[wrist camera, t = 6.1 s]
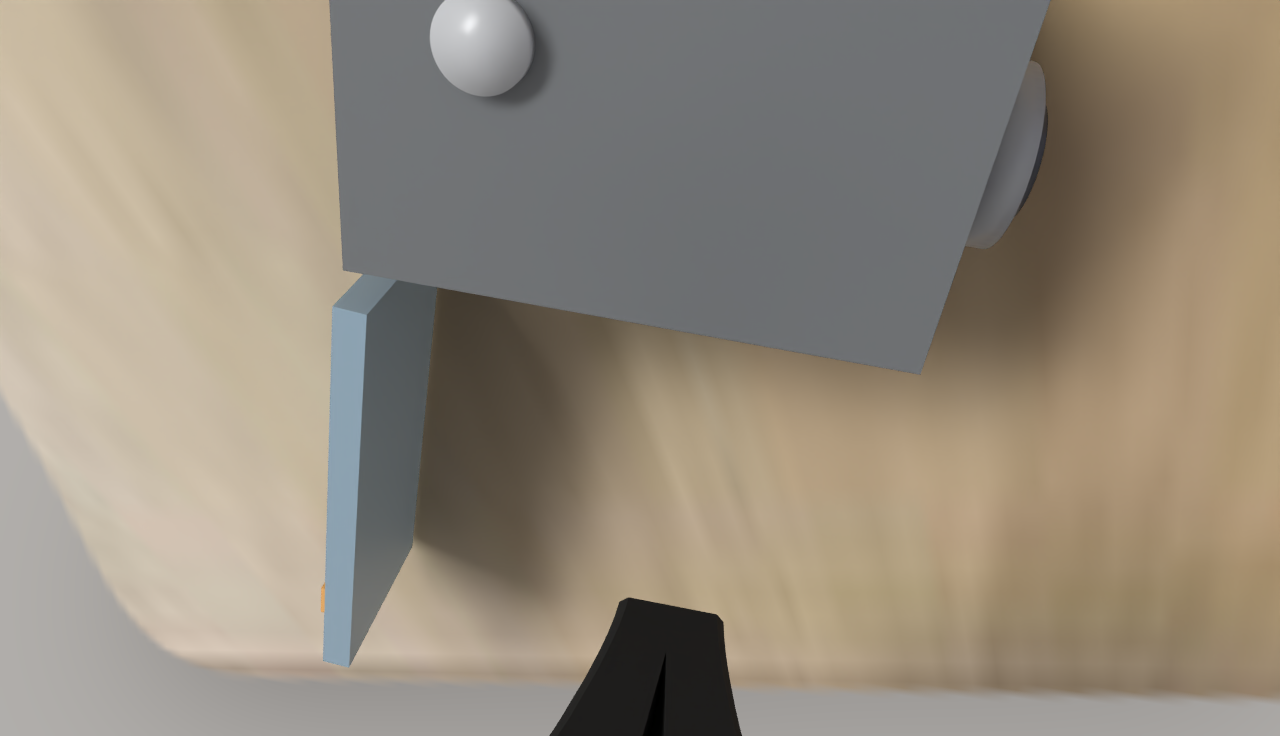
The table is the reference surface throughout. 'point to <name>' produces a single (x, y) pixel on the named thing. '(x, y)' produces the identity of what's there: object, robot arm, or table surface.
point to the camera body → (691, 157)
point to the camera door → (373, 450)
